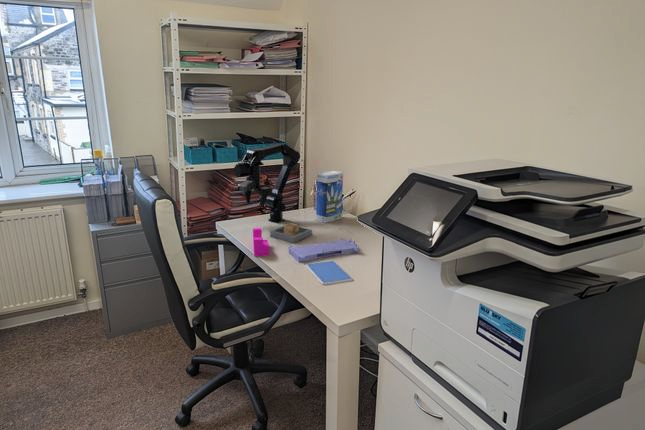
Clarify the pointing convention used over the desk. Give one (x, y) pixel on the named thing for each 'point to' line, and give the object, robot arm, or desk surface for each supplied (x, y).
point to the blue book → (328, 272)
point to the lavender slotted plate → (323, 250)
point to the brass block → (291, 229)
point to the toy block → (260, 243)
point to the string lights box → (329, 196)
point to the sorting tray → (280, 235)
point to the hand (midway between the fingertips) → (254, 205)
